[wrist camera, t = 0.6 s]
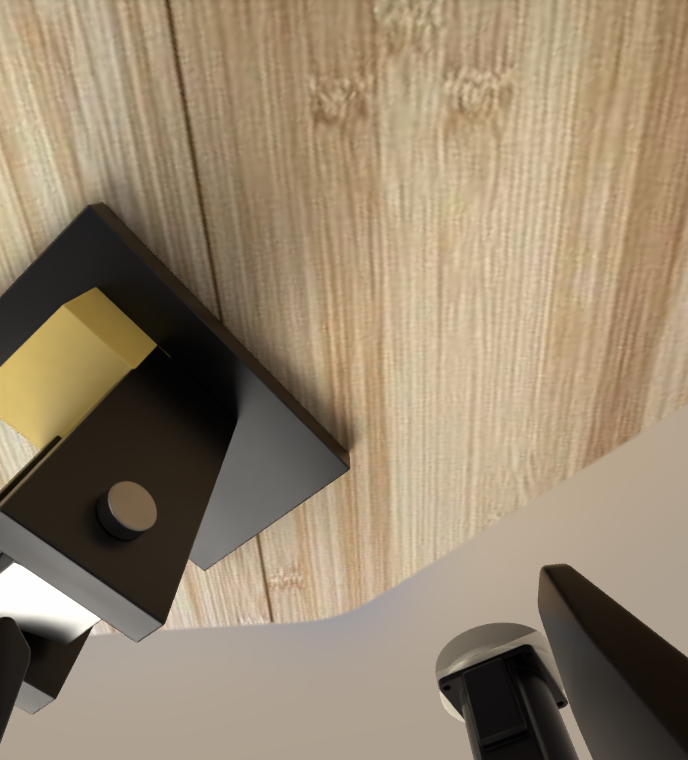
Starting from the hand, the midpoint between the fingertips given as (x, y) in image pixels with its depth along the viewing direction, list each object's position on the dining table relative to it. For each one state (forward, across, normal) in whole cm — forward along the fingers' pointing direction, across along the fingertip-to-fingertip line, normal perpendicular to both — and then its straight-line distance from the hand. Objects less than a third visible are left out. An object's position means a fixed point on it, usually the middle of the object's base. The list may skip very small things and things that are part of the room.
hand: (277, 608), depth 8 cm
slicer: (+13, +6, +2) cm, 14 cm away
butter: (+12, +8, -1) cm, 14 cm away
